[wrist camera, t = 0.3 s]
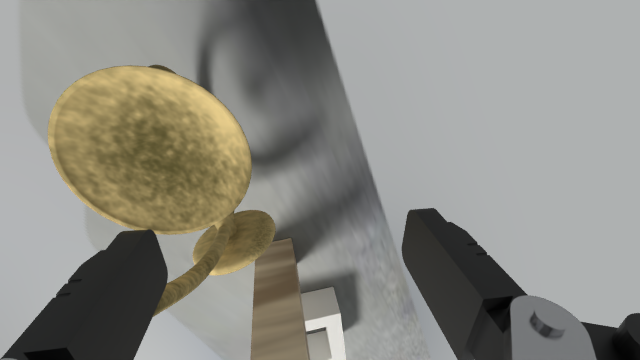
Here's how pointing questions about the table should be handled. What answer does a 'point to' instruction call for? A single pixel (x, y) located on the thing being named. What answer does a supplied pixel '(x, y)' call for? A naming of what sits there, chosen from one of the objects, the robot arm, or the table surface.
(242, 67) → the table surface
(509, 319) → the robot arm
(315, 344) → the square well
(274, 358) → the wooden l-shaped block
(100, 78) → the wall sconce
